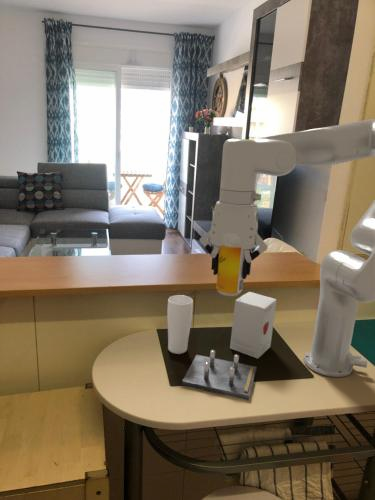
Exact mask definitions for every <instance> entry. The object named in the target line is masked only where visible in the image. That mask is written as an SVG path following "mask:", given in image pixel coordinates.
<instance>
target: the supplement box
mask: <svg viewBox="0 0 375 500" xmlns="http://www.w3.org/2000/svg"><path fill="white" fill-rule="evenodd" d="M276 306H277V298H273V297H270V296H267V295H266V296H265V295H262V294H259V293H257V292H256V293H255V292H253V291H248V292H247V293H244V294H243V295H241V296H240V297H238V298H237V299H235V300H234V307H233V308H234V309H233V318H232V325H231V327H232V328H231V337H230V344H229V345H230V346H229V349H231V350H234V351H235V352H239V353H241V354H244V355H247V356H249V357H252V358H255V359H257V360H258V359H259V358H260V357H262V356H263V355H264V354H265V353H266V352H267V351H268V349H270V348H271V345H272V338H273V337H272V336H273V330H274V329H273V328H274V323H275V315H276V314H275V313H276Z"/></svg>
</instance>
